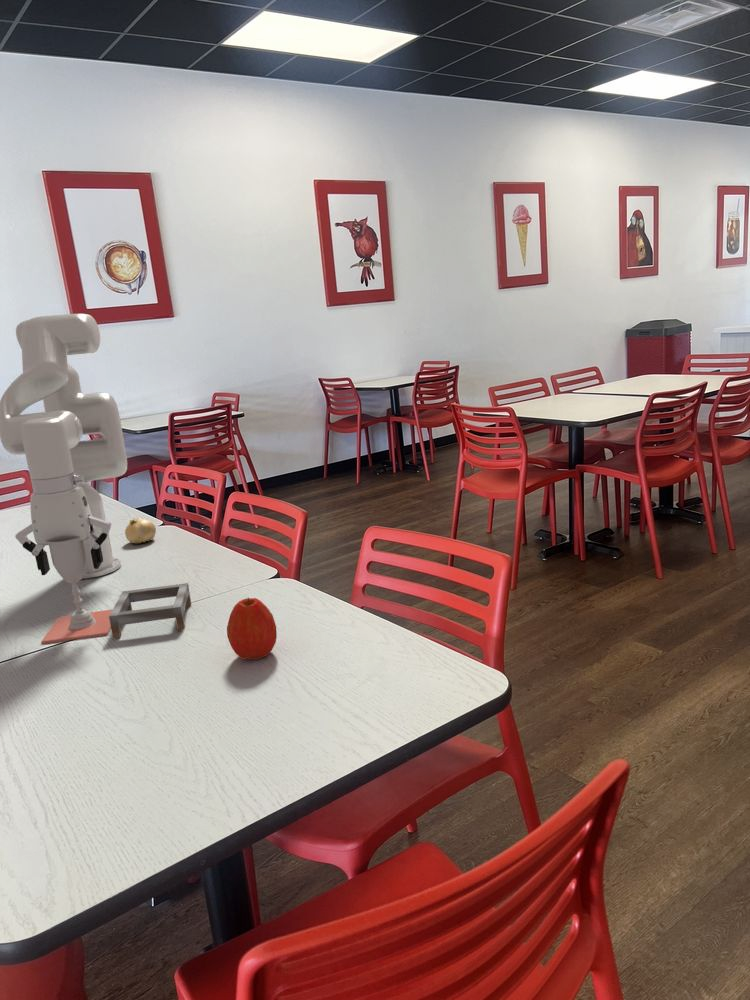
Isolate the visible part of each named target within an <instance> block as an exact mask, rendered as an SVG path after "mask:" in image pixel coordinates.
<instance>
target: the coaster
mask: <svg viewBox="0 0 750 1000" xmlns="http://www.w3.org/2000/svg"><path fill="white" fill-rule="evenodd" d="M112 610H113V608H112V609H106V610H100V611H99V610H98V611H92V612H91V611H89V612H90V613H91V615H92V616H93V618H94V619H95V620H96V622H95V623H94V624H93V625H91V626H89V627H86V628H82V629H70V628H69V624H70V620H71V616H72V614H69V615H61V616H58V617H57V619H56V621H54V623H53V624H52V626H51V627H50V629H49V630H48V631H47V632H46V634H45V636H44V637H43V638H42V640H41V641H40V642H41V644H42V645H43V644H50V643H51V644H52V643H59V642H65V641H71V640H74V641H75V640H81V639H88V638H95V637H102V636H108V635H109V633H110V632H111V631H112V630H111V625H110V620H109V615H110V614H111V612H112Z"/></svg>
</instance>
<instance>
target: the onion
mask: <svg viewBox="0 0 750 1000" xmlns="http://www.w3.org/2000/svg"><path fill="white" fill-rule="evenodd" d="M156 533H157V529H156V525H155V524H154V522H152V521H150V520H148V519H145V518H135V517H134V518H132V519H130V520H129V523H128V524H127V526H126V527H125V531H124V535H125V538H126V540H127V541H128V542H129V543H132V544H141V543H142V542H143V543H146V541H148V542H150V541H149V540H151V539H153V540H154V538H155V536H156Z"/></svg>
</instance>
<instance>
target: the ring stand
mask: <svg viewBox="0 0 750 1000" xmlns="http://www.w3.org/2000/svg"><path fill="white" fill-rule="evenodd" d="M189 586H190V585H189V582H187V583H178V584H176V583H175V584H170V585H169V584H168V585H162V586H155V587H148V588H147V587H146V588H140V589H131V590H125V591H122V592H121V594H120V595H119V597H118V599H117V601H116V603H115V604H114V606H113V608H112V609H113V610H112V609H111V610H112V612H111V614H110V615H109V620H110V625H111V630H110V631H111V634H112V639H113V640H118V639H120V638H121V637H122V634H121V633H122V632H121V628H120V627H121V626H124V625H131V624H139V623H146V622H148V623H149V622H155V621H161V620H170V619H175V620H176V621H175V622H176V627H177V631H184V630H185V628H186V624H185V618H184V612H185V609H186V607H192V599H191V593H190V588H189ZM172 597H173V598H174V597H175V600H174V603H173V605H164V606H156V607H148V608H141V609H134V610H133V607H132V603H135V602H136V603H137V602H143V601H151V600H159V599H167V598H172Z"/></svg>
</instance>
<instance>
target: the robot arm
mask: <svg viewBox="0 0 750 1000" xmlns="http://www.w3.org/2000/svg"><path fill="white" fill-rule="evenodd" d="M15 335H16V339H17V343H18V345H19V347H20V349H21V360H22V361H21V362H22V363H21V364H22V366H21V367H22V373H21V374H20V375H19V376H17V377H16V378H15V379H14V380H13V381H12V382H11V383H10V385H9V386H8V387H7V389H6V390H5V391H4V393H3V394H2V396H1V398H0V443H1V444H2V447H3V449H5V451H6V452H8V453H9V454H12V455H15V456H16V455H19V456H22V455H25V459H26V464H27V468H28V472H29V473H28V474H29V478H30V482H31V486H32V487H31V488H32V490H33V491H32V493H31V494H30V505H29V506H30V519H31V524H29V525H28V526H26V527H24V528H23V529H22V530H20V531H18V532H17V533H15V536H14V537H15V539H16V540H17V541H18V542H19V543H20V544H21V545H22V547H23V549H24V550H26V551H27V552H29V553H30V554H31V555H32V556H33V557H35V563H36V566H37V569H38V571H40V574H41V576H46V575H47V574H48V573H49V571H50V569H51V567H50V562H49V557H48V552H47V551H46V550H45V549H44V548H45V546H49V545H48V543H47V542H61V541H67V540H72V539H76V538H78V537H80V538H79V541H83V543H84V549H85V554H86V563H85V568H84V572H83V575H82V578H81V580H83V579H84V580H85V579H92V578H97V577H98V578H99V577H103V576H104V575H108V574H111V573H114V572H115V571H117V570H118V569H120V568H121V566H122V563H121V560H120V559H119V558H116V557H114V556H113V551H112V544H111V539H110V534H109V533H110V530H111V528H112V525H113V524H112V522H110V521H107V519H106V512H105V507H104V501H103V498H102V496H101V494H100V493H99V492H98V491H97V490H96V489H95V488H94V487H92V485H90V484H89V483H88V482H92V481H98V480H105V479H107V480H108V479H113V478H119V477H122V476H123V475H125V474H126V472H127V470H128V458H127V451H126V445H125V438H124V434H123V429H122V424H121V417H120V411H119V407H118V405H117V402H116V399H115V398H114V397H113V396H112V395H111V394H110V393H107V392H90V393H83V392H82V388H81V387H82V386H81V382H80V376H79V373H78V372H77V370H76V369H75V368H74V367H73V366H72V365H71V364H70V363H69V362H68V356H74V355H85V354H94V353H96V352H97V351H98V350H99V347H100V344H101V333H100V329H99V325H98V323H97V320H96V319H95V318H94V317H93V316H92V315H90V314H87V313H69V314H68V313H67V314H56V315H55V314H54V315H42V316H36V317H35V316H34V317H32V318H30V319H25V320H24V321H21V322H20V323H18V324H17V325H16V328H15ZM40 401H43V408H44V412H43V411H42V412H34V413H24V414H22V413H23V412H25V410H26V409H28V408H29V407H31V406H32V405H34V404H36V403H38V402H40ZM95 434H98V435H99V434H100V435H101V436H102V438H97V439H96V438H95V439H90V440H89V439H88V440H81V439H82V438H83V436H86V435H87V436H88V435H95ZM31 533H33V534H32V535H33V537H34V538H33V539H34V541H35V542H34V541H32V540H30V539H29V538H28V535H30V534H31ZM46 541H47V542H46Z"/></svg>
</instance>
